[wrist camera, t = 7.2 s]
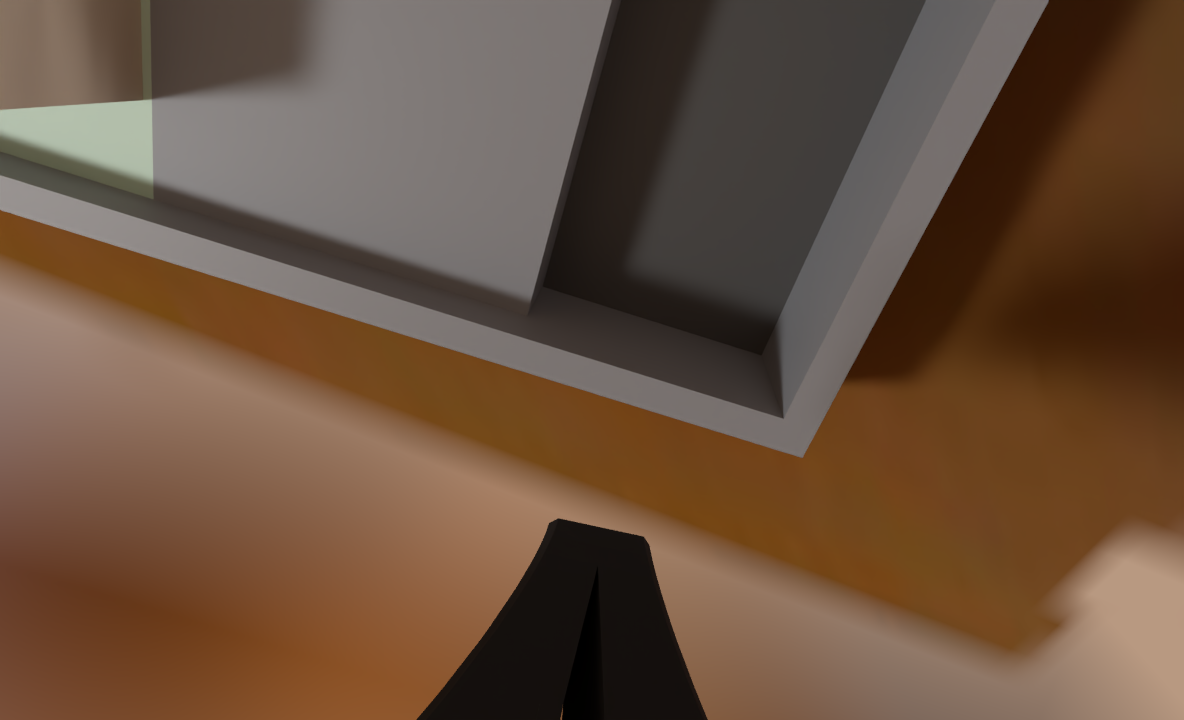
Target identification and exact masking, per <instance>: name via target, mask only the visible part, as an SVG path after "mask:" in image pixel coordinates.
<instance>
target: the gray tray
mask: <svg viewBox="0 0 1184 720" xmlns="http://www.w3.org/2000/svg"><path fill="white" fill-rule="evenodd" d="M1048 1H1049V0H141V31H142V74H143V100H140V101H125V102H110V103H95V104H80V105H66V106H51V107H36V108H21V109H6V110H0V210H2V211H5V212H9V213H12V214H15V215H18V216H22V217H25V218H28V219H31V220H34V221H38V222H41V223H44V224H47V225H51V226H54V227H57V228H60V229H64V230H67V231H70V232H73V233H77V234H80V235H83V236H86V237H89V238H93V239H96V240H99V241H102V242H106V243H109V244H112V245H115V246H119V247H122V248H125V249H128V250H132V251H135V252H138V253H141V254H144V255H148V256H151V257H154V258H157V259H161V260H164V261H167V262H170V263H174V264H177V265H180V266H183V267H187V268H190V269H193V270H196V271H199V272H203V273H206V274H209V275H212V276H216V277H219V278H222V279H225V280H229V281H232V282H235V283H238V284H242V285H245V286H248V287H251V288H254V289H258V290H261V291H264V292H267V293H271V294H274V295H277V296H280V297H284V298H287V299H290V300H293V301H297V302H300V303H303V304H306V305H309V306H313V307H316V308H319V309H322V310H326V311H329V312H332V313H335V314H339V315H342V316H345V317H348V318H352V319H355V320H358V321H361V322H364V323H368V324H371V325H374V326H377V327H381V328H384V329H387V330H390V331H394V332H397V333H400V334H403V335H407V336H410V337H413V338H416V339H419V340H423V341H426V342H429V343H432V344H436V345H439V346H442V347H445V348H449V349H452V350H455V351H458V352H462V353H465V354H468V355H471V356H475V357H478V358H481V359H484V360H487V361H491V362H494V363H497V364H500V365H504V366H507V367H510V368H513V369H517V370H520V371H523V372H526V373H530V374H533V375H536V376H539V377H542V378H546V379H549V380H552V381H555V382H559V383H562V384H565V385H568V386H572V387H575V388H578V389H581V390H585V391H588V392H591V393H594V394H597V395H601V396H604V397H607V398H610V399H614V400H617V401H620V402H623V403H627V404H630V405H633V406H636V407H640V408H643V409H646V410H649V411H652V412H656V413H659V414H662V415H665V416H669V417H672V418H675V419H678V420H682V421H685V422H688V423H691V424H695V425H698V426H701V427H704V428H707V429H711V430H714V431H717V432H720V433H724V434H727V435H730V436H733V437H737V438H740V439H743V440H746V441H750V442H753V443H756V444H759V445H762V446H766V447H769V448H772V449H775V450H779V451H782V452H785V453H788V454H792V455H795V456H798V457H801V458H802V457H803V455H804V454H805V452H806V450H807V448H808V446H809V444H810V443H811V441H812V439H813V437H814V435H815V433H816V431H817V430H818V428H819V426H820V424H821V422H822V420H823V418H824V417H825V415H826V413H827V411H828V409H829V407H830V405H831V404H832V402H833V400H834V398H835V396H836V394H837V392H838V391H839V389H840V387H841V385H842V383H843V381H844V379H845V378H846V376H847V374H848V372H849V370H850V368H851V367H852V365H853V363H854V361H855V359H856V357H857V355H858V354H859V352H860V350H861V348H862V346H863V344H864V342H865V341H866V339H867V337H868V335H869V333H870V331H871V329H872V328H873V326H874V324H875V322H876V320H877V318H878V316H879V315H880V313H881V311H882V309H883V307H884V305H885V304H886V302H887V300H888V298H889V296H890V294H891V292H892V291H893V289H894V287H895V285H896V283H897V281H898V279H899V278H900V276H901V274H902V272H903V270H904V268H905V266H906V265H907V263H908V261H909V259H910V257H911V255H912V253H913V252H914V250H915V248H916V246H917V244H918V242H919V240H920V239H921V237H922V235H923V233H924V231H925V229H926V228H927V226H928V224H929V222H930V220H931V218H932V216H933V215H934V213H935V211H936V209H937V207H938V205H939V203H940V202H941V200H942V198H943V196H944V194H945V192H946V190H947V189H948V187H949V185H950V183H951V181H952V179H953V177H954V176H955V174H956V172H957V170H958V168H959V166H960V164H961V163H962V161H963V159H964V157H965V155H966V153H967V152H968V150H969V148H970V146H971V144H972V142H973V140H974V139H975V137H976V135H977V133H978V131H979V129H980V127H981V126H982V124H983V122H984V120H985V118H986V116H987V114H988V113H989V111H990V109H991V107H992V105H993V103H994V101H995V100H996V98H997V96H998V94H999V92H1000V90H1001V88H1002V87H1003V85H1004V83H1005V81H1006V79H1007V77H1008V76H1009V74H1010V72H1011V70H1012V68H1013V66H1014V64H1015V63H1016V61H1017V59H1018V57H1019V55H1020V53H1021V51H1022V50H1023V48H1024V46H1025V44H1026V42H1027V40H1028V38H1029V37H1030V35H1031V33H1032V31H1033V29H1034V27H1035V25H1036V24H1037V22H1038V20H1039V18H1040V16H1041V14H1042V12H1043V11H1044V9H1045V7H1046V5H1047V3H1048Z"/></svg>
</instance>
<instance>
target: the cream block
mask: <svg viewBox="0 0 1184 720" xmlns="http://www.w3.org/2000/svg"><path fill="white" fill-rule="evenodd" d="M140 100H143V74H142V31H141V0H0V110H6V109H21V108H36V107H51V106H66V105H80V104H95V103H110V102H125V101H140Z"/></svg>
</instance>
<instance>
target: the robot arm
mask: <svg viewBox="0 0 1184 720" xmlns="http://www.w3.org/2000/svg"><path fill="white" fill-rule="evenodd" d="M562 708H563V715H562V720H708V719H707V717H706V715H705V712H704V710H703V707H702V705H701V703H700V700H699V698H698V695H697V693H696V690H695V688H694V685H693V683H692V680H691V677H690V675H689V672H688V669H687V667H686V664H685V661H684V659H683V656H682V653H681V651H680V648H679V645H678V643H677V640H676V637H675V634H674V631H673V628H672V625H671V622H670V619H669V616H668V613H667V610H666V607H665V604H664V600H663V597H662V594H661V590H660V587H659V584H658V580H657V576H656V573H655V569H654V565H653V561H652V556H651V552H650V546H649V544H648V542H647V541H646V540H645V538H644V537H643V536H638V535H634V534H629V533H624V532H619V531H615V530H610V529H605V528H601V527H596V526H591V525H587V524H582V523H577V522H573V521H568V520H563V519H557V520H554V521H553V522H551V523H549V525H548V528H547V531H546V534H545V536H544V538H543V541H542V543H541V545H540V547H539V549H538V551H537V553H536V555H535V557H534V559H533V560H532V562H531V564H530V566H529V567H528V569H527V571H526V572H525V574H524V576H523V578H522V579H521V581H520V583H519V584H518V586H517V587H516V589H515V590H514V592H513V593H512V595H511V596H510V598H509V599H508V601H507V602H506V604H505V605H504V607H503V608H502V610H501V611H500V613H499V614H498V616H497V617H496V619H495V620H494V621H493V623H492V625H491V626H490V627H489V629H488V630H487V632H486V633H485V634H484V636H483V637H482V639H481V640H480V641H479V643H478V644H477V645H476V646H475V648H474V649H473V650H472V651H471V653H470V654H469V655H468V657H467V658H466V659H465V661H464V662H463V663H462V665H461V666H460V667H459V668H458V669H457V671H456V672H455V673H454V675H453V676H452V677H451V679H450V680H449V681H448V682H447V684H446V685H445V687H444V688H443V689H442V690H441V691H440V692H439V694H438V695H437V696H436V697H435V698H434V700H433V701H432V702H431V703H430V704H429V706H428V707H427V708H426V709H425V710H424V711H423V713H422V714H421V715H420V716H419V717H418V718H417V720H560V717H561V712H562Z"/></svg>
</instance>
